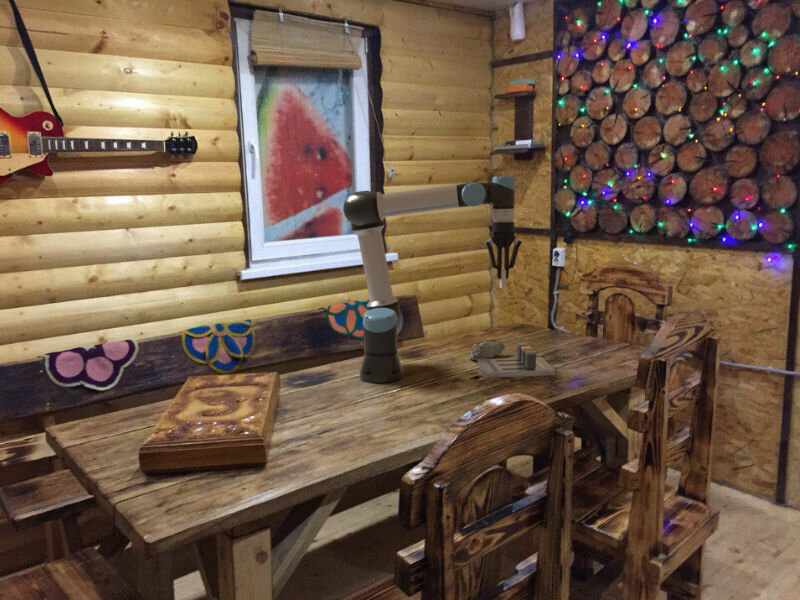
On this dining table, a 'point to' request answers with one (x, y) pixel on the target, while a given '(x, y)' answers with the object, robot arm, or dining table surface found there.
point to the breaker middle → (524, 353)
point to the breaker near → (530, 359)
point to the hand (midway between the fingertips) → (502, 287)
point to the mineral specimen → (486, 350)
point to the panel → (513, 368)
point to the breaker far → (520, 350)
